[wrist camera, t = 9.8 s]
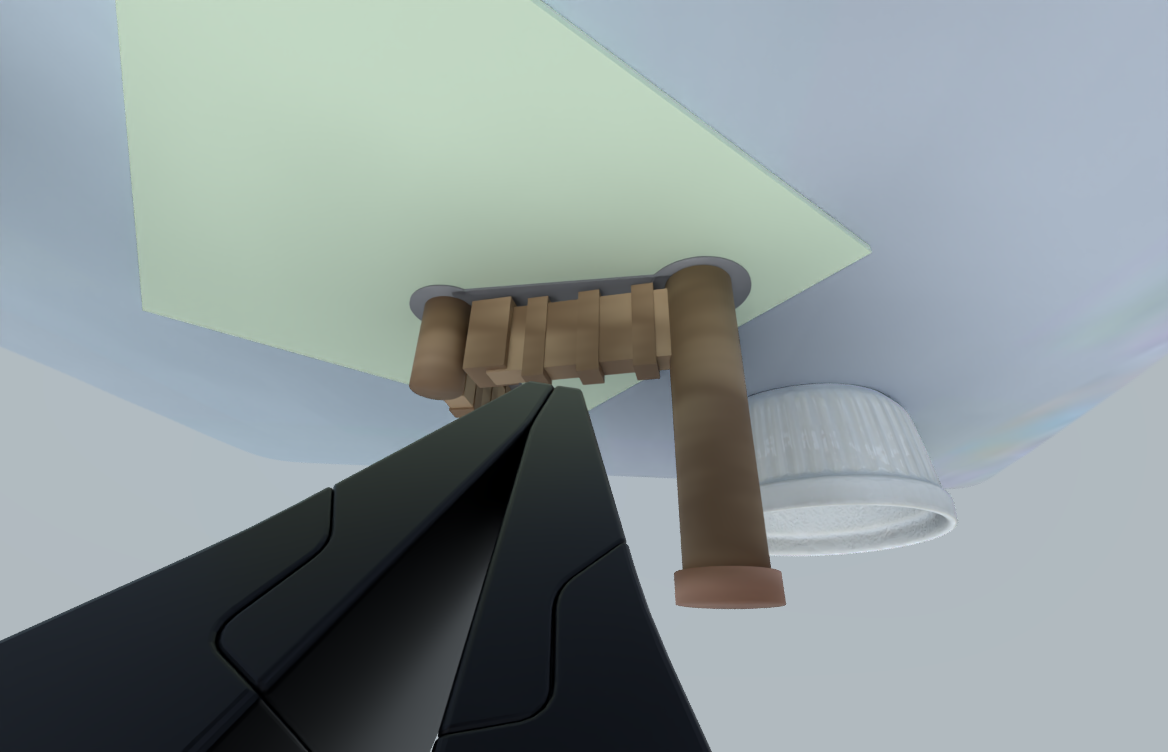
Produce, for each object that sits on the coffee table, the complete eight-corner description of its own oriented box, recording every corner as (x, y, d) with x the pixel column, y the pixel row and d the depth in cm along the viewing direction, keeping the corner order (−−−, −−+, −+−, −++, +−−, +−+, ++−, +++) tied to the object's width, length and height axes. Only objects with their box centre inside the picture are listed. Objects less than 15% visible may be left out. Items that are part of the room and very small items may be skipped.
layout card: (145, 304, 22) (141, 312, 22) (96, -332, 8) (83, -326, 8) (559, 422, 33) (559, 428, 33) (869, 246, 18) (872, 254, 18)
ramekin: (725, 361, 26) (742, 501, 23) (980, 375, 27) (1032, 513, 23) (667, 451, 38) (673, 553, 34) (845, 459, 38) (868, 559, 35)
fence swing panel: (494, 332, 22) (461, 607, 17) (465, 291, 20) (417, 599, 15) (737, 304, 20) (780, 609, 15) (739, 254, 18) (791, 599, 13)
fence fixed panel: (418, 289, 21) (399, 378, 19) (465, 286, 21) (451, 375, 19) (494, 399, 30) (487, 467, 28) (528, 398, 30) (523, 466, 28)
